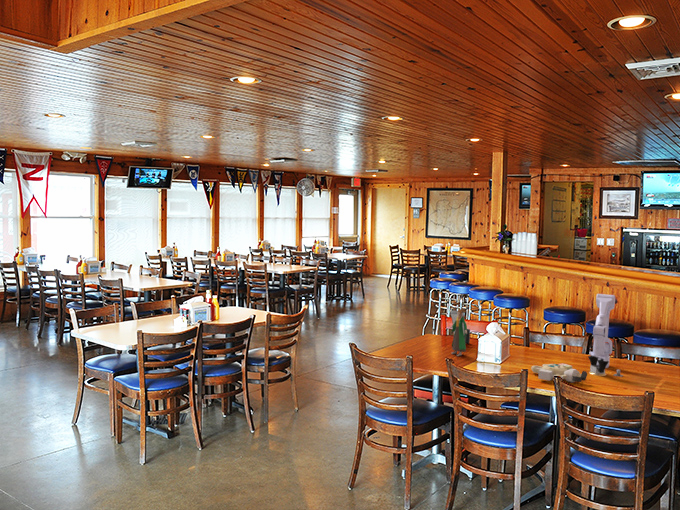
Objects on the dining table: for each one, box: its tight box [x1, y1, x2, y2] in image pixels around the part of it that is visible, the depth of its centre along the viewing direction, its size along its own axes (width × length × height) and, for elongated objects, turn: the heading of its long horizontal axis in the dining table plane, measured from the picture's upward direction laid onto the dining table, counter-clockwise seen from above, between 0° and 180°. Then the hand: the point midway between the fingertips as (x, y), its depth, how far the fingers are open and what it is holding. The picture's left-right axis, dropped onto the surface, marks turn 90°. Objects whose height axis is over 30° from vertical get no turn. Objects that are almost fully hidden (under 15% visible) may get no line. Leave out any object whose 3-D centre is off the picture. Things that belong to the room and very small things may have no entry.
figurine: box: [449, 307, 468, 357], centre depth 370 cm, size 16×7×30 cm, turn 27°
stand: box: [613, 369, 624, 378], centre depth 326 cm, size 4×4×4 cm
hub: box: [588, 371, 607, 377], centre depth 328 cm, size 9×9×4 cm
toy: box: [531, 362, 588, 383], centre depth 321 cm, size 25×8×30 cm
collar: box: [589, 364, 606, 376], centre depth 328 cm, size 5×5×4 cm
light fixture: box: [449, 310, 471, 345], centre depth 399 cm, size 11×17×24 cm, turn 152°
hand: (597, 370), depth 328 cm, fingers open, 7 cm apart
